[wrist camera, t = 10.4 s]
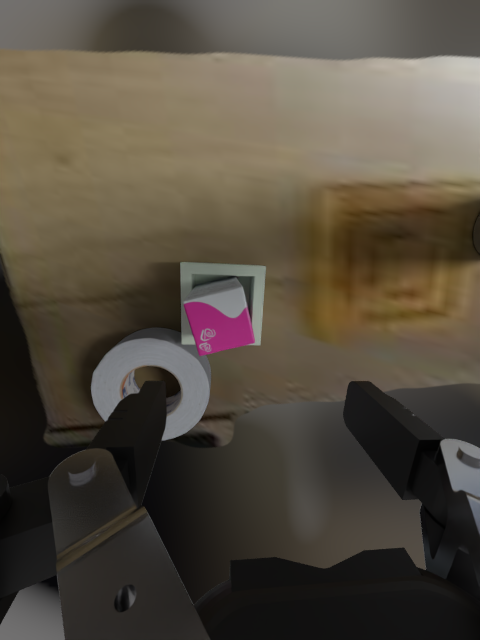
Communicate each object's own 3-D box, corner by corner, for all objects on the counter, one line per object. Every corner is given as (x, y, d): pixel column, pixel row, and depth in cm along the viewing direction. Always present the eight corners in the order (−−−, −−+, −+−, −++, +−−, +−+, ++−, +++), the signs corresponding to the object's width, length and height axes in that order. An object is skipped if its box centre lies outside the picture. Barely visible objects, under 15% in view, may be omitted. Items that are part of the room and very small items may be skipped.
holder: (258, 265, 33) (265, 266, 28) (254, 333, 35) (260, 345, 31) (185, 261, 32) (180, 262, 27) (186, 332, 34) (181, 344, 30)
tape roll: (84, 370, 35) (62, 388, 30) (163, 305, 33) (154, 313, 28) (157, 435, 38) (149, 461, 34) (230, 379, 37) (233, 398, 32)
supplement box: (193, 285, 32) (180, 299, 21) (235, 275, 32) (246, 283, 21) (204, 325, 33) (198, 358, 22) (245, 315, 34) (259, 343, 22)
